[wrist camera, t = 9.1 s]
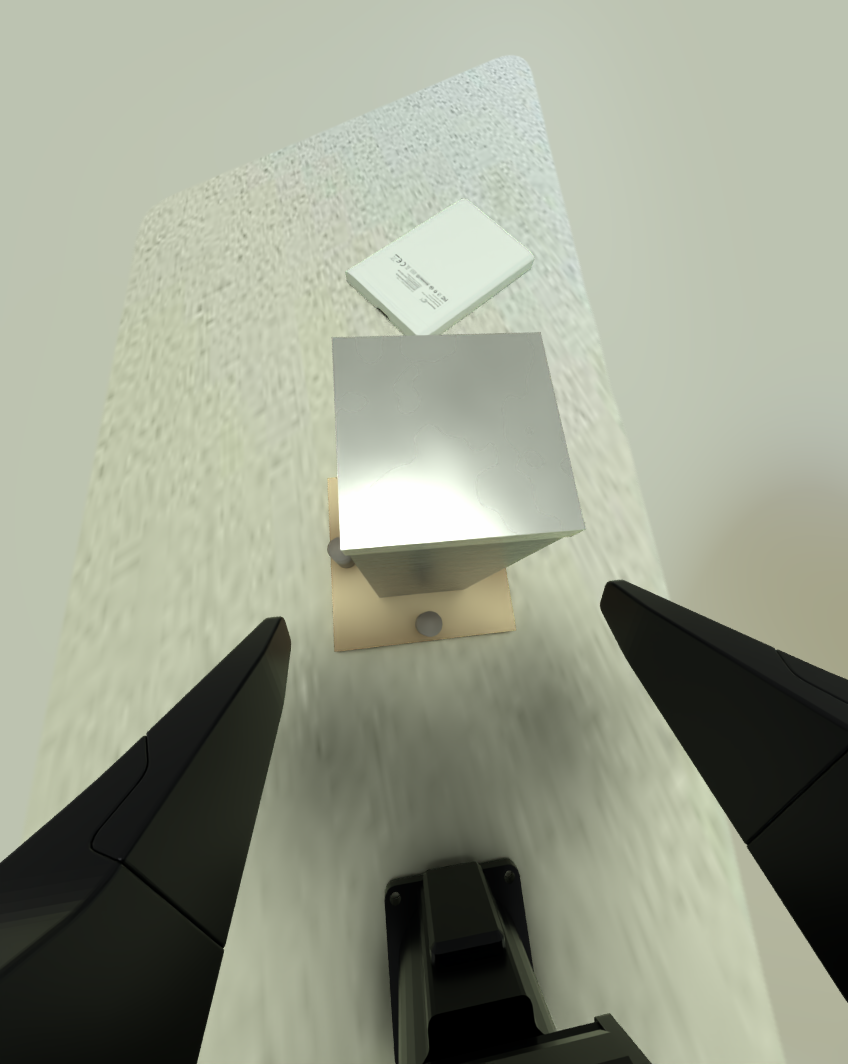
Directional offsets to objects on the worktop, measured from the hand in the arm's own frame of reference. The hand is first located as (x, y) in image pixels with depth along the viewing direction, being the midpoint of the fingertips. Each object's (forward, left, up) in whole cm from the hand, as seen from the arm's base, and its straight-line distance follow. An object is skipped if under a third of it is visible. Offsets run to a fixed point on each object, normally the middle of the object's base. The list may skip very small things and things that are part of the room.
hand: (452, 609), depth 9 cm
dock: (+4, 0, -11) cm, 12 cm away
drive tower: (+4, 0, -10) cm, 11 cm away
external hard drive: (+26, -4, -12) cm, 29 cm away
